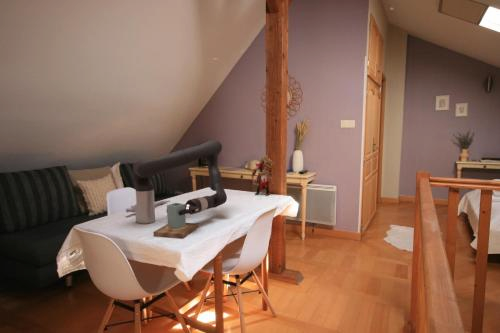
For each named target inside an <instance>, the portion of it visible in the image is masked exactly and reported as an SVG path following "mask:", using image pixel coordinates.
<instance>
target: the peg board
mask: <svg viewBox="0 0 500 333" xmlns="http://www.w3.org/2000/svg"><path fill="white" fill-rule="evenodd" d="M197 229H199V223H196V222H186V226H185V227H182V228H179V229H177V230H176V229H172V228H168V223H166V224H165V225H163V226H161V227H160V228H158V229H156V230H154V231H153V237H159V236H160V238H171V237H172V239H173V238H174V239H185V238H186V237H187V236H189V235H190V234H192V233H193V232H194V231H196V230H197ZM188 234H189V235H188Z"/></svg>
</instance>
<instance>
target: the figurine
mask: <svg viewBox="0 0 500 333" xmlns="http://www.w3.org/2000/svg"><path fill="white" fill-rule="evenodd" d="M274 165H275V164H274V163H273V160H272V159H270V157H268V154H266V155H263V157H262V158H260V159H259V163H255V167H254V169H252V172H251V179H252V180H254V177H255V176H256V174H257V176H256V179H255V180H256V182H255V183H256V184H255V185H256V192H255V194H254V195H255V196H259V195H260V192H261V191H263V190H265V191H266V192H265V194H264V195H265V196H267V197H268V196H270V189H269V188H270V185H269V184H270V180H271V181H272V180H273V179H274V170H273V169H274ZM257 171H258V173H257ZM267 171H268V175H269V178H268V177H267V173H266V172H267ZM269 179H270V180H269Z"/></svg>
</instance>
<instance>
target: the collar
mask: <svg viewBox="0 0 500 333" xmlns="http://www.w3.org/2000/svg"><path fill="white" fill-rule="evenodd" d="M185 204H186V203H181V202H173V203H170V204H167V205H166V209H167V211H166V214H167V215H166V217H167V219H166V220H167V224H168V228H172V229H176V230H177V229H179V228H182V227H185V226H186V223H187V222H186V214H184V215H181V216H180V215H179V211H181V210H184V209H185Z"/></svg>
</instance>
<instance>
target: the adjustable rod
mask: <svg viewBox="0 0 500 333" xmlns="http://www.w3.org/2000/svg"><path fill="white" fill-rule="evenodd" d="M170 201H171V200H160V201H154V203H155V208H156V206H161V205H164V204H167V203H168V202H170ZM125 213H135V204H134V205H133V204H132V205H130V207H128V208H125Z"/></svg>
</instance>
